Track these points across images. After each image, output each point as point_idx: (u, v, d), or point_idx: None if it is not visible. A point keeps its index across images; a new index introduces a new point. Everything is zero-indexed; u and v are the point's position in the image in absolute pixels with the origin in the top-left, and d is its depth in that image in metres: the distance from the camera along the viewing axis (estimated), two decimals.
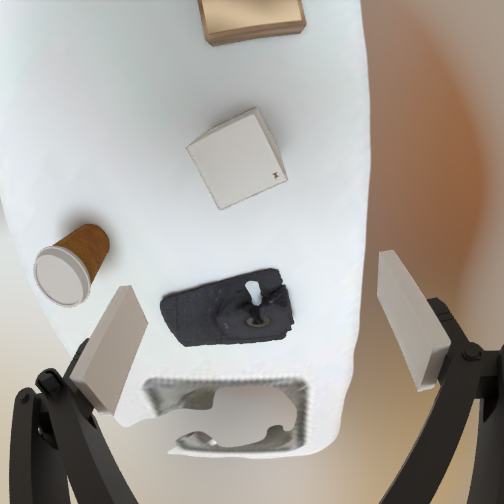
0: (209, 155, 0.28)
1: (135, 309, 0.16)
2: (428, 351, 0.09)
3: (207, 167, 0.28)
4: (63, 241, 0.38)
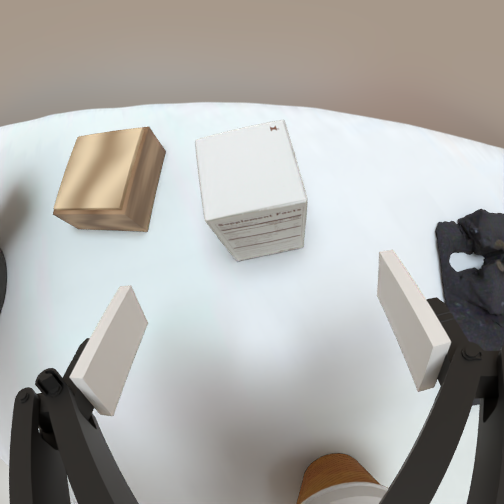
0: (226, 192, 0.21)
1: (135, 309, 0.16)
2: (428, 351, 0.09)
3: (239, 199, 0.21)
4: None
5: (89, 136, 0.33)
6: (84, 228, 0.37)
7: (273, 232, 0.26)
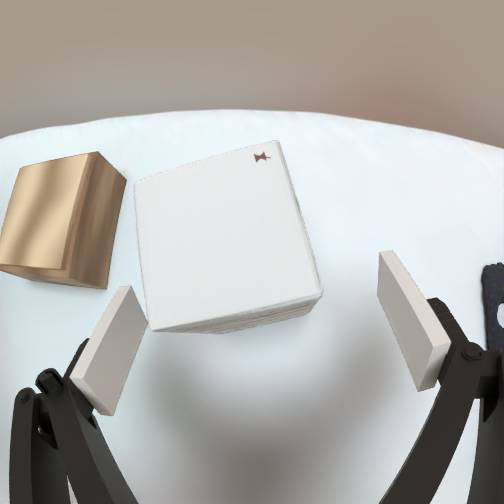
0: (180, 282, 0.12)
1: (135, 309, 0.16)
2: (428, 351, 0.09)
3: (204, 294, 0.12)
4: None
5: (31, 167, 0.24)
6: None
7: (266, 318, 0.17)
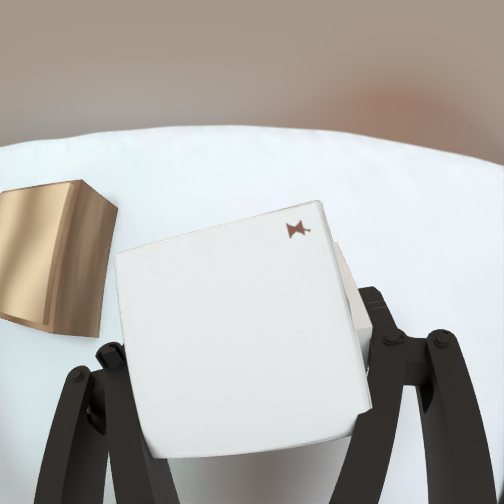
0: (185, 409, 0.08)
1: None
2: None
3: (218, 427, 0.08)
4: None
5: (9, 194, 0.20)
6: None
7: None
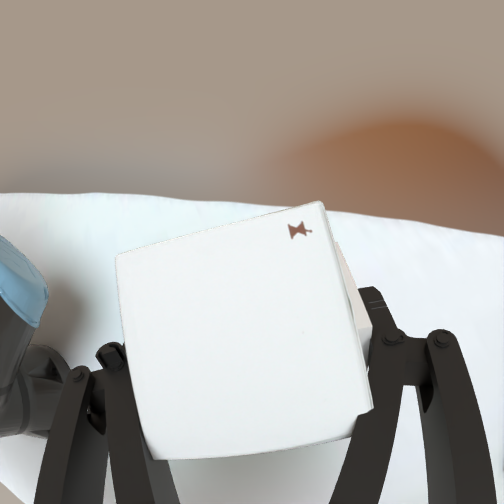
0: (186, 410, 0.08)
1: None
2: None
3: (220, 428, 0.08)
4: None
5: None
6: None
7: None
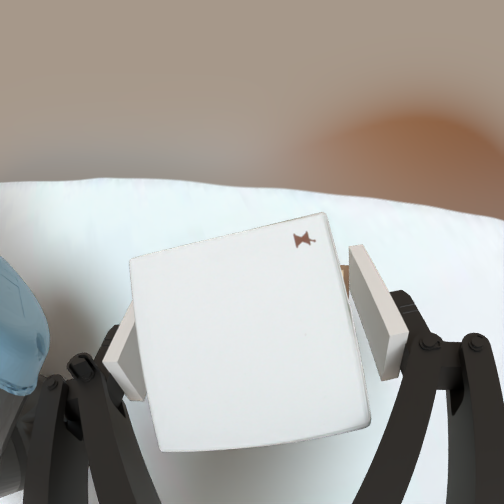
0: (196, 405, 0.09)
1: None
2: (386, 340, 0.10)
3: (227, 422, 0.09)
4: None
5: None
6: None
7: None
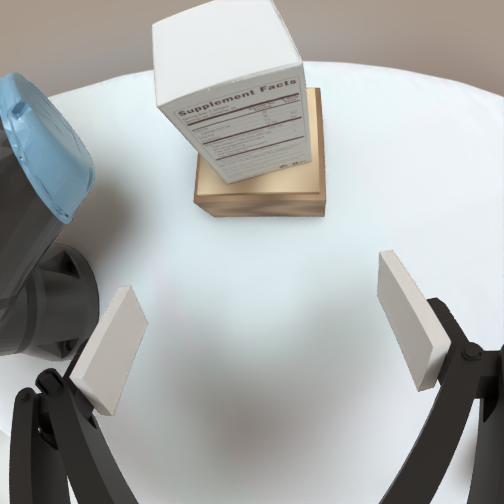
0: (185, 68, 0.13)
1: (135, 309, 0.16)
2: (428, 351, 0.09)
3: (204, 71, 0.13)
4: None
5: None
6: (226, 216, 0.31)
7: (264, 128, 0.17)
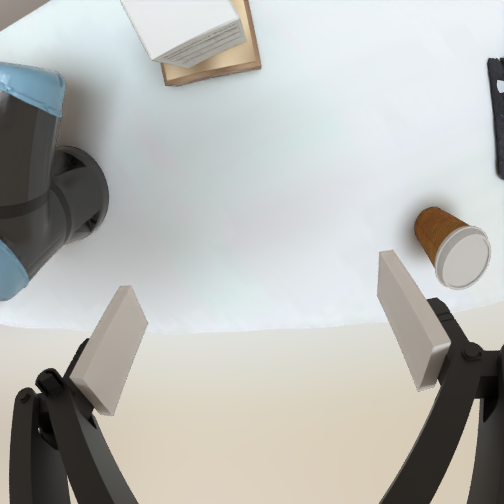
0: (162, 31, 0.18)
1: (135, 309, 0.16)
2: (428, 351, 0.09)
3: (177, 32, 0.18)
4: (431, 247, 0.38)
5: None
6: (186, 83, 0.35)
7: (215, 43, 0.22)
